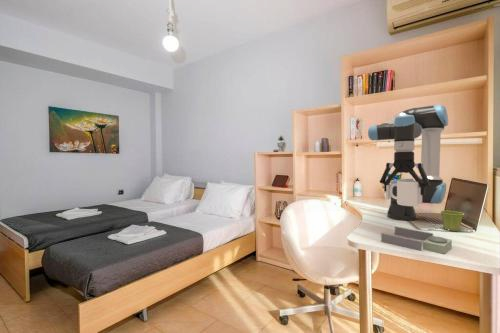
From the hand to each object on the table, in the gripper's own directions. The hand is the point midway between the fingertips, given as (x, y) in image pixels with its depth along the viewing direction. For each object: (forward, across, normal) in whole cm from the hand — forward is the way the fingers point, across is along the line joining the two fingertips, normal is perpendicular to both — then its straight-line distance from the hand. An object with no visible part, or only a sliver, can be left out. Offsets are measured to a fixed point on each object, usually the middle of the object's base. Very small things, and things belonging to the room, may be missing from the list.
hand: (403, 200), depth 113 cm
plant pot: (+18, +10, +35) cm, 41 cm away
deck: (+18, +6, 0) cm, 19 cm away
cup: (+2, 0, 0) cm, 2 cm away
